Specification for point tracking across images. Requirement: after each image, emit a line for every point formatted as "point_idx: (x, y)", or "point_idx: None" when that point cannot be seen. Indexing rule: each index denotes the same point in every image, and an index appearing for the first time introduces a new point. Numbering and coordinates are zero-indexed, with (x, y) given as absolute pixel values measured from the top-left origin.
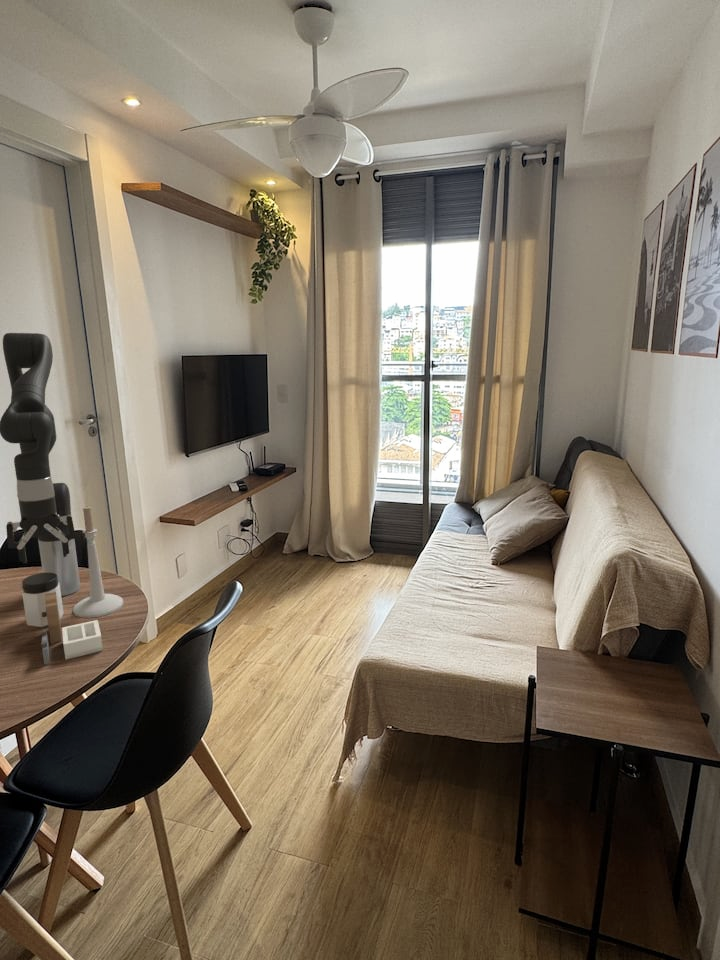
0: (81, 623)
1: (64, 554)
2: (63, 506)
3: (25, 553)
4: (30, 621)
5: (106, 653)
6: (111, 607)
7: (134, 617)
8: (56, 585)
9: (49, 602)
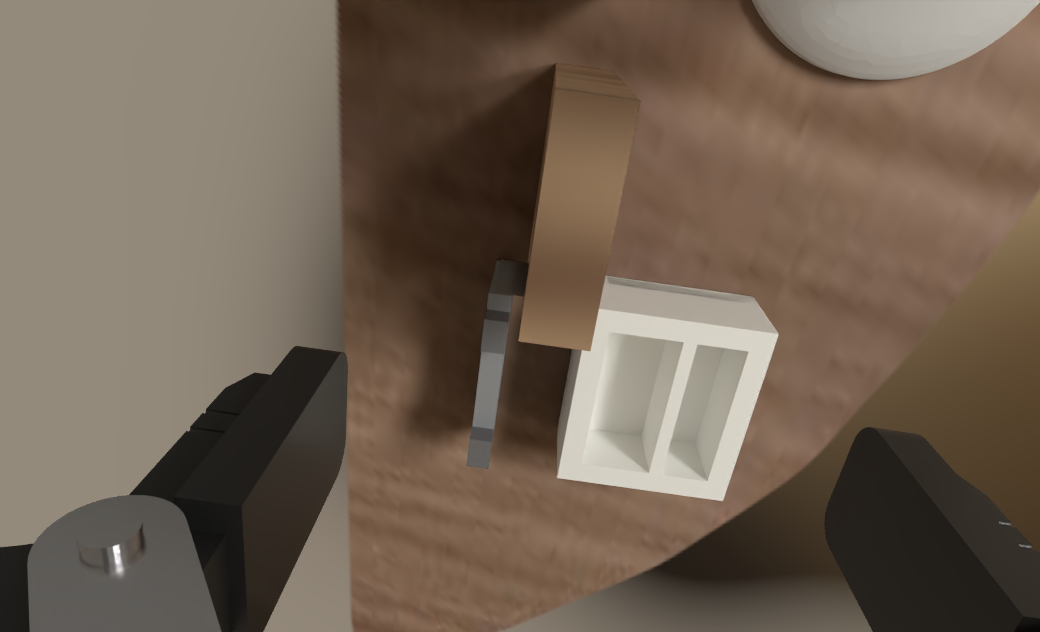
0: (691, 323)
1: (853, 563)
2: None
3: (292, 522)
4: None
5: None
6: (953, 51)
7: (986, 224)
8: None
9: (554, 285)
